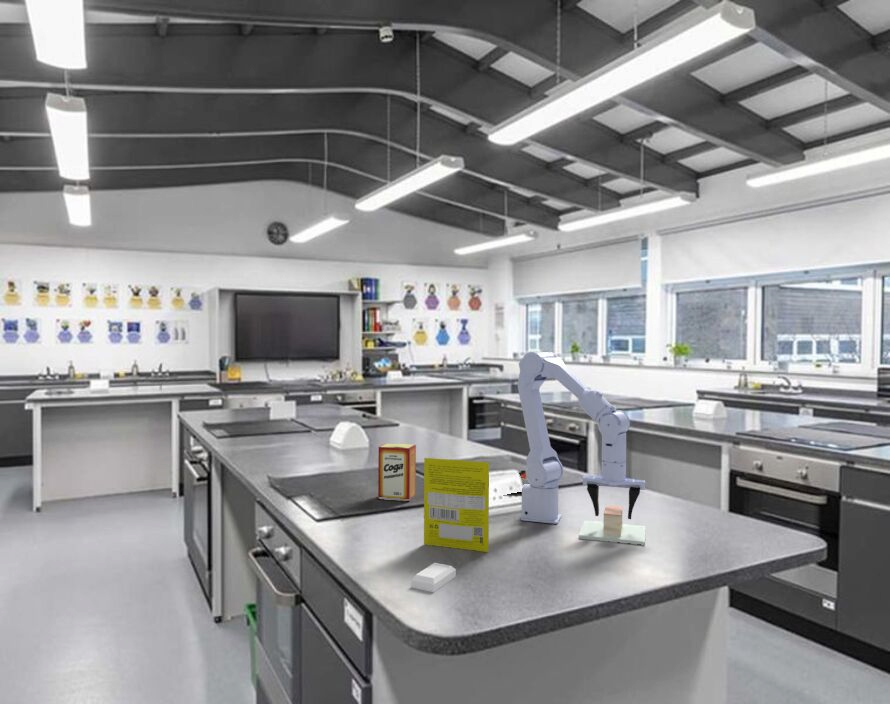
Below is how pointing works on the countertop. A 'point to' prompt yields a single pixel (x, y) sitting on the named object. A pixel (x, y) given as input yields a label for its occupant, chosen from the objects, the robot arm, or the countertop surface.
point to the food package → (456, 504)
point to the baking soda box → (397, 471)
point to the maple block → (612, 520)
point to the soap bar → (433, 577)
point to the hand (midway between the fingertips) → (613, 516)
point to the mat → (628, 535)
